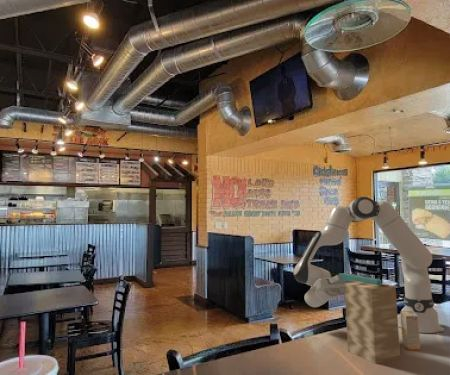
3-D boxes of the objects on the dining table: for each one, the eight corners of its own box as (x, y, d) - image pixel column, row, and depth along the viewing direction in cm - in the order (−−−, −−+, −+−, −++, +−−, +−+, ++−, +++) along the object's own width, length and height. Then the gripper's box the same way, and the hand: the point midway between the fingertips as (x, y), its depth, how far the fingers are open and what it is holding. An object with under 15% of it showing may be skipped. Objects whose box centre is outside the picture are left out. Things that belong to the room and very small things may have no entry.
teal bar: (338, 279, 154) (338, 273, 154) (343, 278, 155) (342, 273, 155) (376, 287, 135) (376, 280, 135) (381, 286, 136) (381, 279, 136)
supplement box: (421, 350, 140) (418, 316, 142) (407, 350, 141) (405, 315, 143) (414, 343, 148) (412, 310, 150) (402, 343, 149) (399, 310, 151)
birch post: (348, 351, 141) (344, 281, 144) (371, 346, 146) (367, 278, 149) (375, 363, 129) (371, 286, 131) (400, 357, 133) (395, 283, 136)
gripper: (306, 283, 160) (323, 270, 149) (343, 279, 168) (361, 267, 157) (311, 297, 156) (329, 285, 146) (348, 293, 164) (367, 281, 154)
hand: (346, 276), depth 152 cm, fingers open, 6 cm apart
